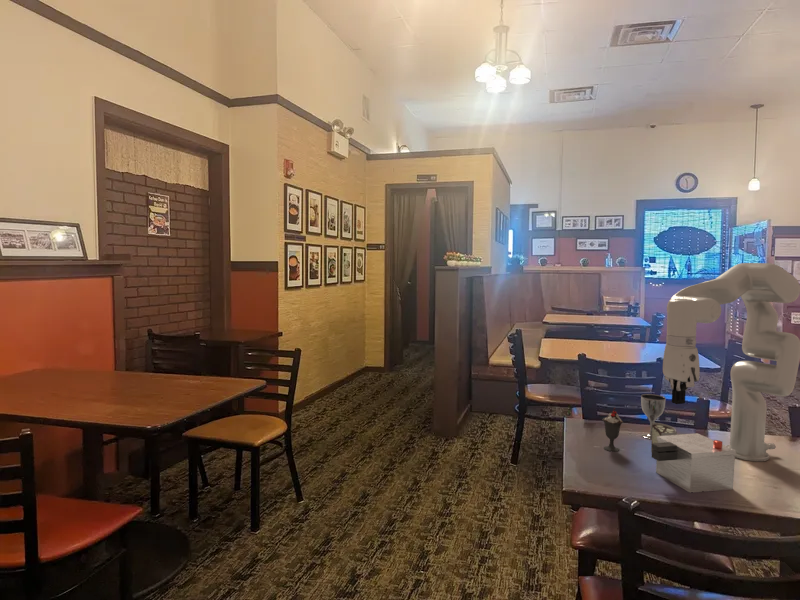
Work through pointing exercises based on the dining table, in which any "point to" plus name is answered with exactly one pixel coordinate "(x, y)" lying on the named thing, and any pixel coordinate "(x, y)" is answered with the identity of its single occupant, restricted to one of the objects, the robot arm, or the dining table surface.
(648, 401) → the wine glass
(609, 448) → the sundae
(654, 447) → the lid
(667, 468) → the white hinged box
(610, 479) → the dining table surface
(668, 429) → the food container
